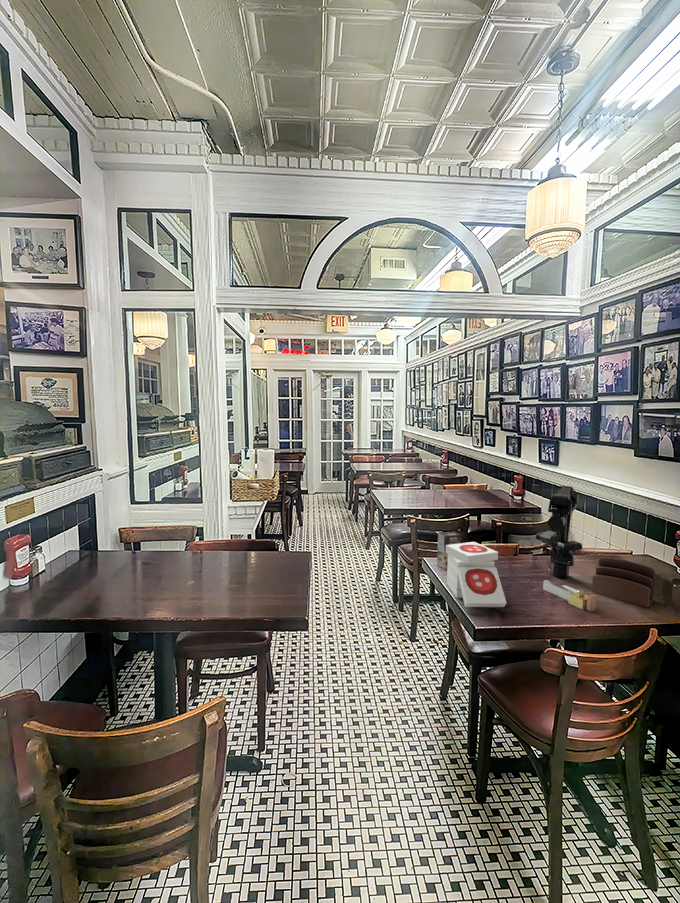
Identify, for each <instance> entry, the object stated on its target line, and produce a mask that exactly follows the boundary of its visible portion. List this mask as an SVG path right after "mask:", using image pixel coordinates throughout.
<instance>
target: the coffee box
mask: <svg viewBox="0 0 680 903" xmlns="http://www.w3.org/2000/svg"><path fill="white" fill-rule="evenodd" d="M459 543H462V534H460V533H457V532H455V531H445V532H437V553H436V565H437V566H438V567H440V568H442V569H445V570H446V569H447V566H448V553H446V545H451V544H459Z"/></svg>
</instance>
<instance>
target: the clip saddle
mask: <svg viewBox="0 0 680 903" xmlns="http://www.w3.org/2000/svg"><path fill="white" fill-rule="evenodd" d="M577 590H578V592H576V593H571V594H569V601H568V602H567V603H568V604H570V605H571V606H574V607H576V608H578V609H580V610H586V609H585V603H587V597H588V595H587V594H586V591H585V590H583V589H577Z"/></svg>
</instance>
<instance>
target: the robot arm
mask: <svg viewBox="0 0 680 903" xmlns="http://www.w3.org/2000/svg"><path fill="white" fill-rule="evenodd" d="M579 497H580V496H579V493H578V492H577V491H576V490H575V489H574V487H573V486H569V485H561V486H560V489H559V490H557V493H554V494H552V495H551V497H550V499H549V505H548V511H547V513H551V516H550V517H549V518H548V520H547V525H548V529H547V531H541V532H539V531H538V532H536V533H535V539H536V540H539V541H541V543H542V544H545V545H547V546H549V547H550V549H551V550H550V563H551V564H553V566H552V573H550V576H552V577H554V578H556V579H557V578H558V579H560V580H566V579H571V578H573V577H572V576H571V575H569V574H570V567H574V565H575V564H574V562H575V558H574V555H573V552H578V551H582V550H583V544H582V543H581V542H579V541H576V540H570V541H569V539H570V531H571V520H572V515H573V514H572V513H573V512H574V511H575V510H576V509H577V505H579V501H580V500H579V499H580V498H579Z"/></svg>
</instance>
